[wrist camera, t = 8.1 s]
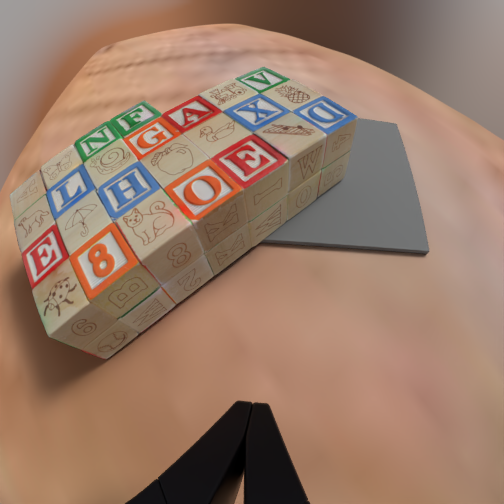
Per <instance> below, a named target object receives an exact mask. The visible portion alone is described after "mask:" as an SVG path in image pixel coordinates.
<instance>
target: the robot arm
mask: <svg viewBox="0 0 504 504" xmlns="http://www.w3.org/2000/svg"><path fill="white" fill-rule="evenodd" d="M243 475H244V504H310V502H309V501H307V500H308V498H307V496H306V493H305V491H304V489H303V486H302V484H301V482H300V479H299V477H298V475H297V472H296V470H295V467H294V465H293V463H292V460H291V458H290V455H289V453H288V451H287V448H286V446H285V443H284V441H283V438H282V436H281V433H280V431H279V428H278V426H277V423H276V421H275V418H274V416H273V413H272V411H271V408H270V406H269V404H267V403H257V402H255V403H253V404H252V402H248V401H236V402H235V403H234V404H233V405H232V406H231V407H230V408H229V410H228V411H227V412H226V413H225V414H224V415H223V416H222V417H221V418H220V419H219V420H218V421H217V422H216V423H215V424H214V425H213V426H212V427H211V428H210V429H209V430H208V431H207V432H206V433H205V434H204V435H203V436H202V437H201V438H200V439H199V440H198V441H197V442H196V443H195V444H194V445H193V446H192V447H190V448H189V449H188V450H187V451H186V452H185V453H184V454H183V455H182V456H181V457H180V458H179V459H178V460H177V461H176V462H175V463H173V464H172V465H171V466H170V467H169V468H168V469H167V470H166V471H165V472H164V473H162V474H161V475H160V476H159V477H158V479H156V480H154V481H153V482H152V483H151V484H150V485H149V486H147V487H146V488H145V489H144V490H143V491H141V492H140V493H139V494H138V495H136V496H135V497H134V498H132V499H131V500H129V501H128V502H126V503H125V504H234V503H235V500H236V497H237V494H238V491H239V488H240V485H241V482H242V478H243Z"/></svg>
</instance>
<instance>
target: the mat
mask: <svg viewBox="0 0 504 504" xmlns="http://www.w3.org/2000/svg"><path fill="white" fill-rule="evenodd" d="M350 151H351V152H350V156H349V160H348V164H347V168H346V172H345V176H344V178H343V179H342V180H341V181H339V182H338V183H337V184H335V185H334V186H332V187H331V188H330V189H328V190H327V191H326V192H324V193H323V194H321V195H320V196H319V197H317V198H316V200H315V201H313V202H312V203H311V204H310V205H308V206H307V207H305V208H304V209H303V210H302V211H300V212H299V213H298V214H296V215H295V216H294V217H292V218H291V219H289V220H287V221H286V222H285V223H284V224H283V225H282V226H280V227H279V228H278V229H276V230H275V231H274V232H273V233H271V234H270V235H269V236H267V237H266V238H265V239H263V240H262V241H261V242H265V243H281V244H296V245H311V246H326V247H341V248H356V249H370V250H384V251H397V252H411V253H424V254H427V253H428V252H429V247H428V241H427V236H426V231H425V226H424V221H423V216H422V212H421V207H420V203H419V199H418V195H417V191H416V187H415V183H414V179H413V175H412V172H411V168H410V165H409V161H408V158H407V155H406V151H405V148H404V145H403V142H402V139H401V136H400V133H399V130H398V127H397V124H394V123H388V122H382V121H375V120H368V119H360V118H357V124H356V128H355V133H354V138H353V142H352V147H351V149H350Z"/></svg>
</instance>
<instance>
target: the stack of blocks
mask: <svg viewBox="0 0 504 504" xmlns="http://www.w3.org/2000/svg"><path fill="white" fill-rule="evenodd" d="M357 118H358V117H357V116H356V115H354V114H353V113H351V112H349V111H348V110H346V109H345V108H343V107H341V106H340V105H338V104H336V103H335V102H333V101H331V100H330V99H328V98H326V97H324V96H322V95H321V94H320V93H318V92H316V91H314V90H313V89H311V88H309V87H307V86H305V85H303V84H301V83H300V82H298V81H296V80H293V79H292V80H290V79H289V78H287V77H285V76H283V75H280V74H278V73H276V72H274V71H272V70H270V69H268V68H265V67H261V68H259V69H256V70H254V71H251V72H249V73H247V74H244V75H242V76H240V77H237V78H235V79H230V80H228V81H226V82H224V83H221V84H219V85H217V86H215V87H213V88H211V89H208V90H206V91H204V92H202V93H200V94H199V95H198V96H196V97H194V98H192V99H190V100H188V101H186V102H184V103H182V104H180V105H179V106H177V107H175V108H173V109H171V110H169V111H167V112H165V113H164V114H162V113H160V112H159V111H158V110H156V109H155V108H154V107H152V106H151V105H150V104H148V103H147V102H146V101H142V102H141V103H139V104H137V105H135V106H133V107H131V108H129V109H128V110H126V111H124V112H122V113H121V114H119V115H117V116H115V117H114V118H112V119H111V120H110V121H107V122H104V123H103V124H101V125H100V126H98V127H97V128H95V129H93V130H92V131H90V132H89V133H87V134H86V135H84V136H82V137H81V138H80V139H78V140H76V142H75V144H74V145H73V144H72V145H70V146H69V147H67V148H66V149H64V150H63V151H61V152H60V153H59V154H57V155H56V156H55V157H53V158H52V159H50V160H49V161H48V162H47V163H45V164H44V165H42V167H41V170H39V171H37V172H36V173H35V174H34V175H32V176H31V177H30V178H29V179H27V180H26V181H25V182H24V183H23V184H22V185H21V186H19V187H18V188H17V189H16V190H15V191H14V192H13V193H11V194H10V200H11V206H12V211H13V216H14V226H15V230H16V231H15V232H16V235H17V241H18V245H19V248H20V251H21V252H22V258H23V262H24V266H25V269H26V272H27V276H28V279H29V282H30V285H31V288H32V293H33V297H34V300H35V303H36V306H37V309H38V312H39V314H40V317H41V320H42V322H43V325H44V327H45V330H46V332H47V335H48V336H49V337H50V338H52V339H55V340H57V341H60V342H62V343H65V344H67V345H69V346H72V347H74V348H78V349H81V351H83V352H86V353H89V354H91V355H94V356H96V357H99V358H102V359H107V358H109V357H110V356H112V355H113V354H114V353H116V352H117V351H118V350H120V349H121V348H122V347H123V346H125V345H126V344H127V343H129V342H130V341H131V340H132V339H134V338H135V337H136V336H137V335H138V334H139V333H141V332H143V331H144V330H145V329H147V328H148V327H149V326H150V325H152V324H153V323H154V322H156V321H157V320H158V319H159V318H161V317H162V316H163V315H165V314H166V313H167V312H168V311H170V310H171V309H172V308H173V307H174V306H175V305H176V304H177V303H179V302H181V301H182V300H183V299H185V298H186V297H187V296H189V295H190V294H191V293H193V292H194V291H195V290H197V289H198V288H199V287H200V286H202V285H203V284H204V283H206V282H207V281H208V280H209V279H211V278H212V277H213V276H214V275H216V274H218V273H219V272H220V271H222V270H223V269H224V268H226V267H227V266H228V265H230V264H231V263H232V262H233V261H235V260H236V259H237V258H239V257H240V256H241V255H243V254H244V253H245V252H247V251H248V250H249V249H250V248H251V247H254V246H256V245H257V244H258V243H259V242H261V241H262V240H263V239H265V238H266V237H267V236H269V235H270V234H271V233H273V232H274V231H275V230H276V229H278V228H279V227H280V226H282V225H283V224H284V223H285V222H286V221H287V220H289V219H291V218H292V217H294V216H295V215H296V214H298V213H299V212H300V211H302V210H303V209H304V208H305V207H307V206H308V205H310V204H311V203H312V202H313V201H315V200H316V198H317V197H319V196H320V195H321V194H323V193H324V192H326V191H327V190H328V189H330V188H331V187H332V186H334V185H335V184H337V183H338V182H339V181H341V180H342V179H343V178H344V176H345V172H346V168H347V164H348V160H349V156H350V152H351V151H350V149H351V147H352V142H353V138H354V133H355V128H356V124H357Z"/></svg>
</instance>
